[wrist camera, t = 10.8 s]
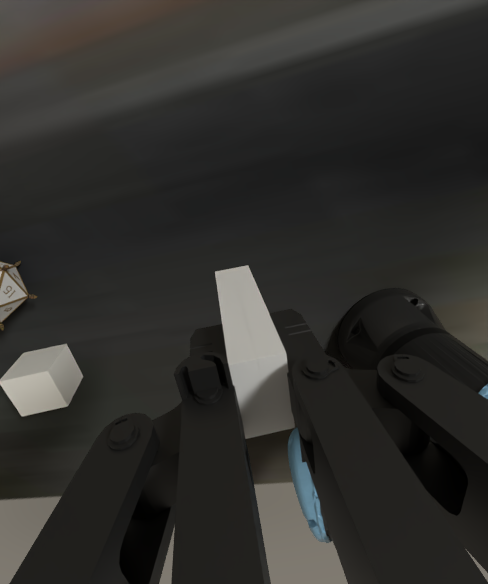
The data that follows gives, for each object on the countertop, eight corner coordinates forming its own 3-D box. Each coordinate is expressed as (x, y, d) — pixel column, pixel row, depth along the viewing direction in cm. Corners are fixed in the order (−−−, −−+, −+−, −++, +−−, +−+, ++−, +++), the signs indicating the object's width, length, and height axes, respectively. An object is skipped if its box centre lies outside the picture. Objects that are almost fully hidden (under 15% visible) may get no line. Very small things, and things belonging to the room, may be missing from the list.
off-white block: (83, 376, 46) (67, 406, 40) (42, 385, 45) (21, 416, 40) (66, 343, 43) (47, 371, 38) (23, 352, 43) (-2, 381, 37)
